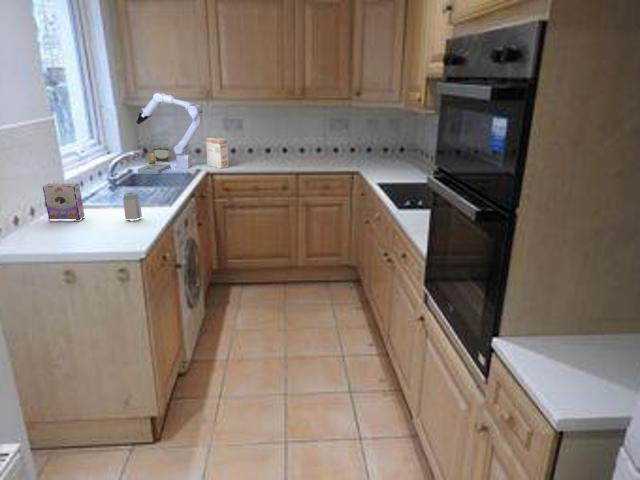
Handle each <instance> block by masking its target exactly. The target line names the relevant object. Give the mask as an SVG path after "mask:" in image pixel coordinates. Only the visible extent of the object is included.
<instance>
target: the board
mask: <svg viewBox="0 0 640 480" xmlns="http://www.w3.org/2000/svg"><path fill="white" fill-rule="evenodd" d="M169 168H170V169H171V164H162V163H159V164H158V163H155V164H149V163H148V164H146V165H144V166H142V167H140V168H137V173H138V174H155V175H159V174H161V173H163V172H162V171H164V170H166V169H168V170H170V169H169ZM166 171H167V170H166ZM164 172H165V171H164Z"/></svg>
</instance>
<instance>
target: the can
mask: <svg viewBox="0 0 640 480" xmlns="http://www.w3.org/2000/svg"><path fill="white" fill-rule="evenodd" d="M123 195H124V196H123V197H122V202H123V210H124V217H125V220H126V219H137V218H140V217H142V218H143V214H142V205H141V199H140V195H139V194H138V193H137V192H127V193H124V194H123Z"/></svg>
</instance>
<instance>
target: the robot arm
mask: <svg viewBox="0 0 640 480" xmlns="http://www.w3.org/2000/svg"><path fill="white" fill-rule="evenodd" d="M152 97H153V98H152V99H151V100H149V102H148V104H147V105H146V106H145V107H142V108H141V110H142V113H141V112H139V113H138V117H137V120H136V122H135V123H136V124H138V125H140V124H142V123H143V122H145V121H146V120H147V119H149V118H151V117H152V116H153V113H154V112H155V111H156V110H157V109H158V107H159V106H160V104H161V103H162V104H165V105H169V106H173V105H177V106H180V107H183V108H185V111H187V112H188V114H189V116H190V117H191V119H192V122H191V124H190V126H189V127H188V129H187V131H186V132H185V134H184V135H183V137H182V139H181V140H180V141H179V142H177V144H176V145H175V146H174V147H173V152H174V153H175V159H176V166H174V168H175V169H176V168H177V169H190V168H191V167H193V165H192V155H191V154H188V153H187V152H188V150H189V149H188V148H189V146H190V142H191V141H192V139H193V137H194V135H195V134H196V132H197V130H199V127H200V126H201V124H202V122H203V113H204V111H203V109H202V107H201V105H199V104H196V103H194V102H190V101H186V100H181V99H178V98H176V97H175V96H173V95H172V94H166V93H164V92H156V93H154V94H153V96H152Z"/></svg>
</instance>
